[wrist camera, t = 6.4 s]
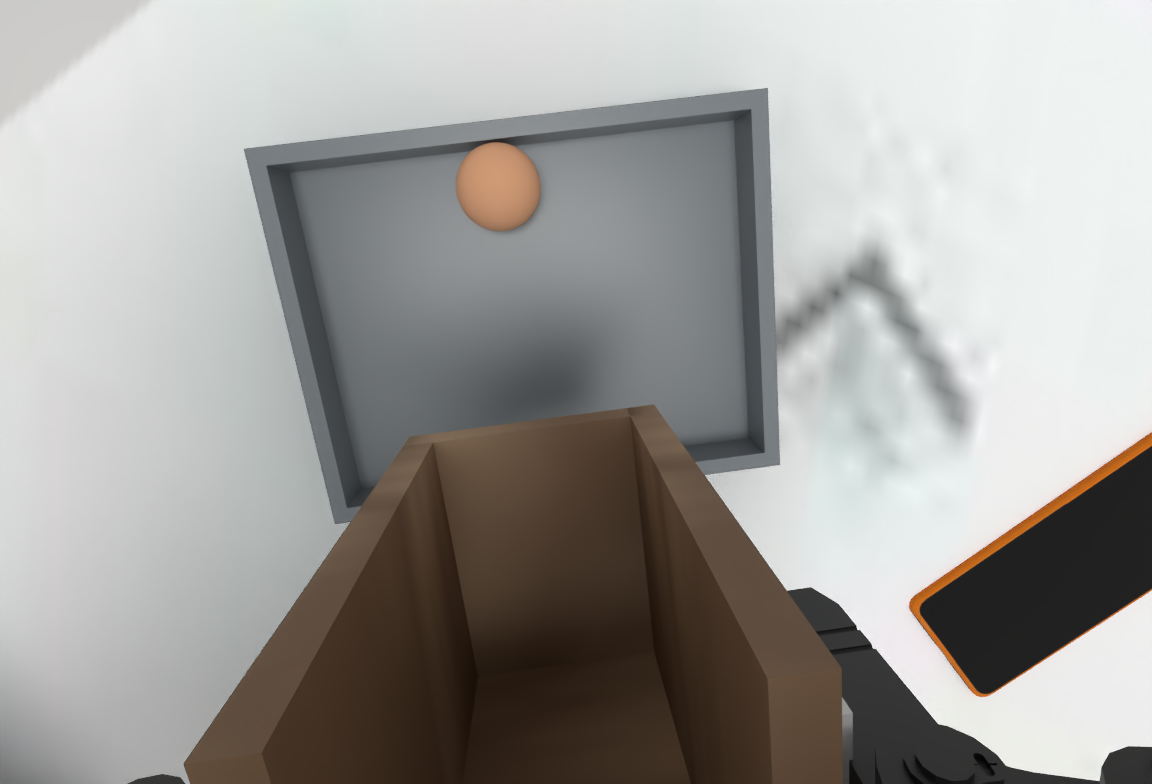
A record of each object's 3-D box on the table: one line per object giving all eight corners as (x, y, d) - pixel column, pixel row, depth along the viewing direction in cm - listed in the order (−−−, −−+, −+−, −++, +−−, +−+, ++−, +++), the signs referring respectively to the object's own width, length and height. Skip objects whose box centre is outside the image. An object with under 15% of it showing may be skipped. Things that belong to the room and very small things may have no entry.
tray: (354, 497, 26) (335, 524, 23) (276, 159, 22) (244, 148, 20) (757, 444, 26) (779, 464, 24) (743, 104, 23) (767, 87, 20)
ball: (477, 246, 23) (436, 213, 20) (482, 172, 23) (443, 130, 20) (549, 241, 22) (518, 206, 19) (554, 164, 22) (523, 119, 19)
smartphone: (899, 598, 29) (910, 608, 28) (1199, 390, 27) (1219, 394, 26) (972, 694, 31) (984, 707, 30) (1259, 504, 29) (1280, 512, 28)
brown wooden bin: (459, 683, 14) (354, 1243, 6) (409, 436, 12) (182, 764, 5) (676, 652, 14) (845, 1162, 6) (654, 404, 12) (841, 667, 5)
